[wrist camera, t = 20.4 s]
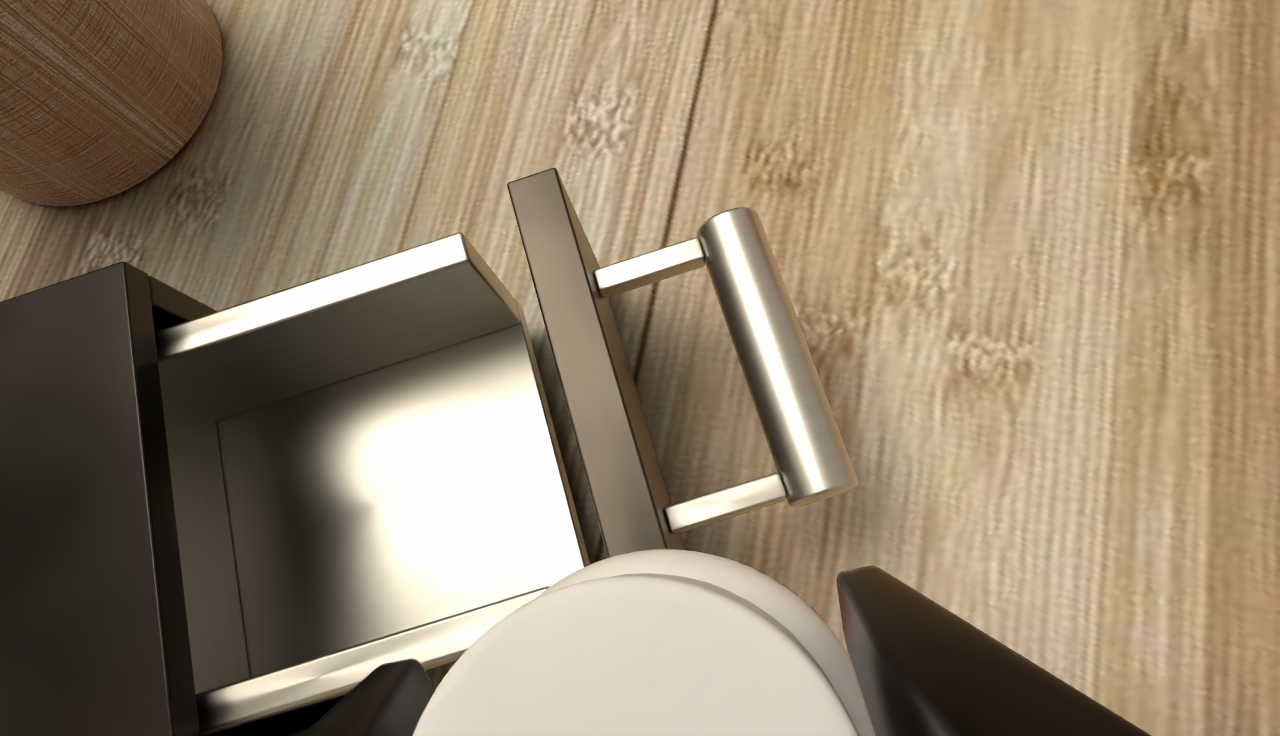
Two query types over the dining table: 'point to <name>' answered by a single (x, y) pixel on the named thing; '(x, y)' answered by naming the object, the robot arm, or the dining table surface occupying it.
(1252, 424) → the dining table surface
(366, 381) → the drawer
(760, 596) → the pill bottle
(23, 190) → the planter
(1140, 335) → the dining table surface
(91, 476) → the drawer cabinet
